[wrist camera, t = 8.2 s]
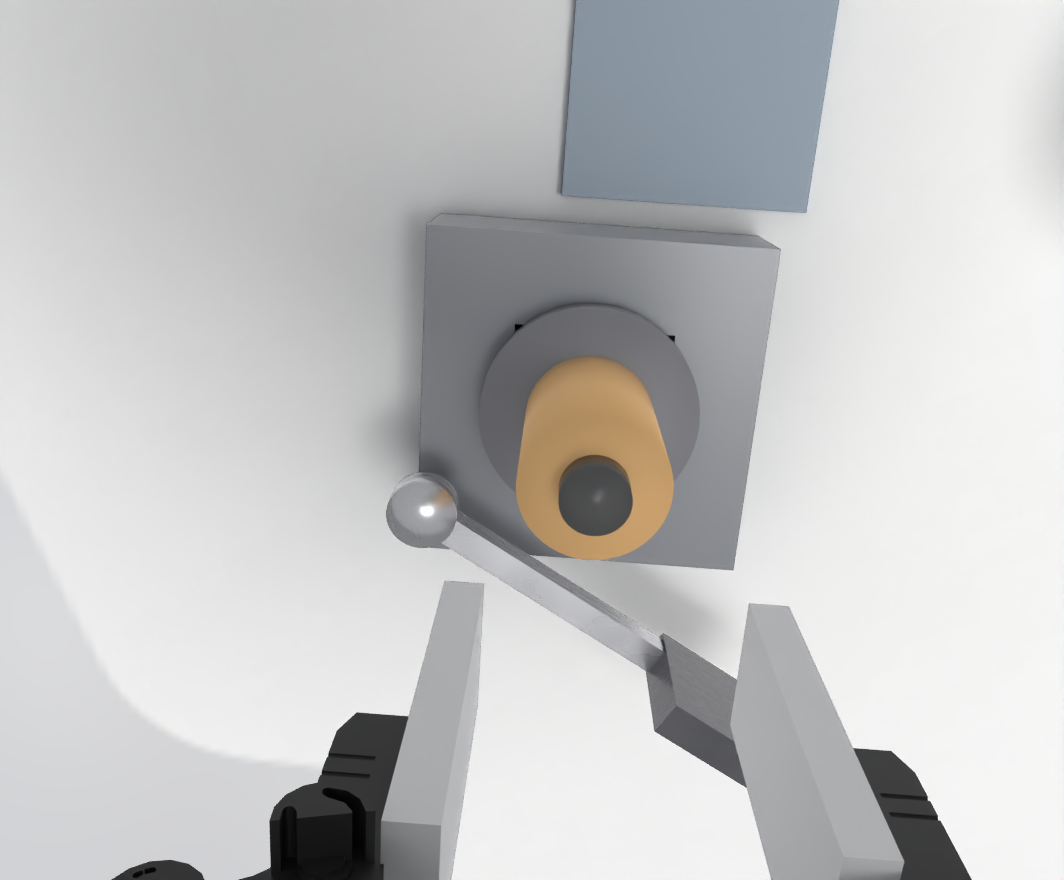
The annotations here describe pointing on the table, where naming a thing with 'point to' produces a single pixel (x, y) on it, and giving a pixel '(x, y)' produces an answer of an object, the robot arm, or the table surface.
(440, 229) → the socket block
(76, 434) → the table surface
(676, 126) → the mat
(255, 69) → the table surface
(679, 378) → the plug
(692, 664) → the grey lever
